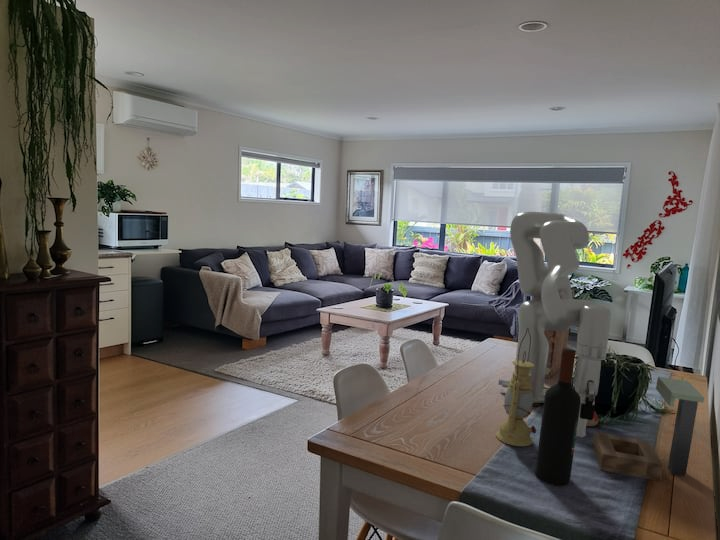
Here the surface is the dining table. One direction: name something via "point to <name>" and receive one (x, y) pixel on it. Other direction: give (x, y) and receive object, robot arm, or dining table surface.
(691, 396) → the capped grey post
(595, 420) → the red and yellow dome
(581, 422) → the perfume bottle
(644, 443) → the socket block
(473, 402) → the dining table surface
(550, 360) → the book
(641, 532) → the dining table surface
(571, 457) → the wine bottle
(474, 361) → the dining table surface
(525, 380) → the lantern
